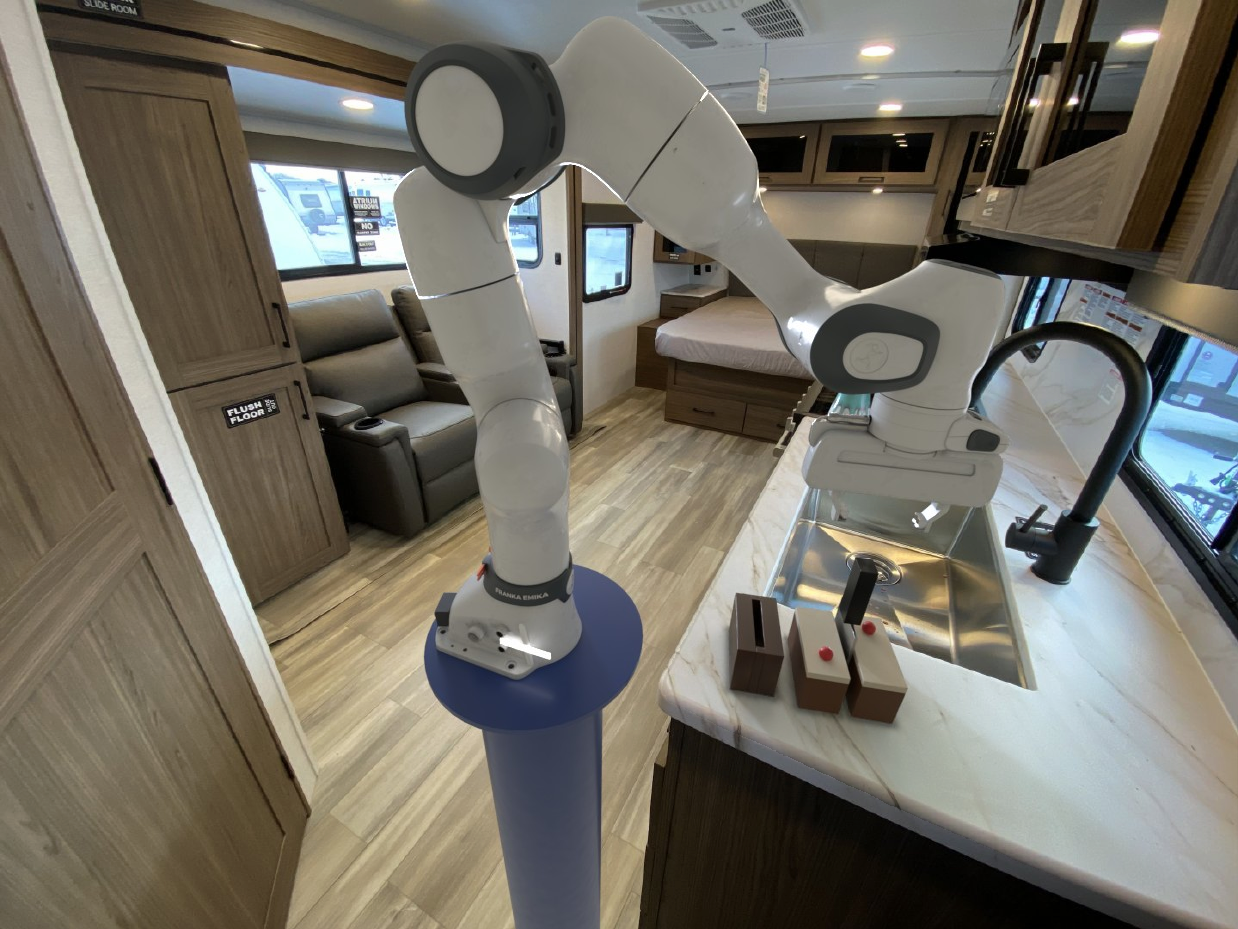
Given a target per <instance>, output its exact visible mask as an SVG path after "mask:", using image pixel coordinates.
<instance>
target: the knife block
mask: <svg viewBox="0 0 1238 929" xmlns="http://www.w3.org/2000/svg"><path fill="white" fill-rule="evenodd" d="M778 608H779V607H778V602H777V597H770V596H765V595H764V596H763V595H755V594H748V593H742V592H735V595H734V598H733V604H732V611H731V617H730V622H729V626H728V658H729V660H728V661H729V662H728V663H729V664H728V665H729V667H728V668H729V669H728V670H729V690H731V691H735V692H736V691H737V692H743V693H748V694H753V695H759V696H766V697H772V698H775V694H776V690H777V686H778V683H779V679H780V675H781V671H782V668H783V663H784V660H785V651H784V644H783V637H782V629H781V623H780V616H779V609H778Z"/></svg>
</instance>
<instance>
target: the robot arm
mask: <svg viewBox="0 0 1238 929" xmlns="http://www.w3.org/2000/svg"><path fill="white" fill-rule="evenodd" d="M403 105H404V106H403V108H404V109H403V112H404V121H405V126H406V130H407V134H408V137H409V140H410V142H411V145H412V147H413V149H414V152H415V153H416V155H417V158H418V159H419V161H420V162H421V164H422V165H421V166H419V167H416V168H414V169H413V170H412V171H409V172H408V173H407V174H406V175H405V176H403V177H402V178H401V180H400V181H399V182H398V183H397V185H396V187H395V190H394V192H393V197H392V206H393V214H394V216H395V217H394V218H395V223H396V228H397V232H398V237H399V241H400V245H401V250H402V253H403V256H404V260H405V263H406V267H407V269H408V270H407V271H408V273H409V276H410V279H411V282H412V284H413V287H414V289H415V293H416V295H417V298H418V300H419V303H420V305H421V308H422V310H423V312H424V315H425V318H426V320H427V323H428V326H429V328H430V331H431V333H432V336H433V338H434V341H435V343H436V345H437V349H438V350H439V353H440V355H441V358H442V361H443V363H444V366H445V367H446V369H447V371H448V372H449V373H450V374H451V375H452V376H453V378H454V379H455V381H456V382H457V384H458V387H459V388H460V390H461V391H462V392H463V395H464V397H465V398H466V400H467V402H468V404H469V407H470V409H471V410H472V413H473V417H474V419H475V420H474V421H475V423H476V433H477V435H476V443H475V452H474V458H473V459H474V469H475V475H476V479H477V485H478V490H479V495H480V499H481V504H482V507H483V511H484V515H485V518H486V523H487V530H488V538H489V547H488V552H489V553H488V554H486V555H485V556H484V557H483V559H482V561H481V566H480V567H479V569H478V570H477V572H475V573H473V574H472V575H470V577H469V578H468V579H467V580H466V581H465V582H464V583H463V585H462V586H461V587H460V588H459V589H458V591H457V592H449V591H446V592H445V591H443V593H442V595H441V597H440V599H439V601H438V604H437V605H436V607H435V609H434V614H433V615H434V617H435V618H436V622H437V626H438V629H437V632H436V648H437V650H439V651H441V652H444V653H446V654H449V655H451V656H454V657H457V658H459V659H462V660H464V661H467V662H470V663H472V664H475V665H477V666H480V667H483V668H485V669H488V670H491V671H493V672H496V673H498V674H501V675H504V676H506V677H509V678H512V679H515V680H519V679H522V678H524V677H526V676H527V675H529V674H530V673H531V672H533V671H534V670H535V669H537V668H539V667H542V666H545V665H548V664H551V663H554V662H556V661H558V660H560V659H561V658H563V657H564V656H566V655H567V654H568V653H570V652H571V651H572V650H573V648H574V647H575V646H576V644H577V643H578V641H579V639H580V636H581V632H582V623H581V619H580V617H579V615H578V612H577V610H576V607H575V603H574V598H573V593H572V591H573V586H574V569H573V564H574V563H573V555H572V552H571V551H570V533H569V532H570V531H569V507H570V498H571V497H570V495H571V450H570V446H569V442H568V438H567V434H566V430H565V426H564V425H565V424H564V420H563V417H562V413H561V409H560V406H559V402H558V399H557V395H556V392H555V389H554V385H553V382H552V379H551V375H550V372H549V368H548V365H547V362H546V358H545V355H544V352H543V349H542V348H543V347H542V346H541V342H540V339H539V336H538V332H537V328H536V324H535V321H534V318H533V315H532V311H531V307H530V304H529V300H528V297H527V293H526V289H525V286H524V283H523V280H522V275H521V273H520V269H519V266H518V263H517V258H516V256H515V253H514V249H513V246H512V242H511V237H510V230H509V217H510V213H511V210H512V207H513V206H514V207H516V206H517V207H518V206H520V205H522V204H524V203H525V202H527V201H528V200H529V199H531V198H533V197H534V196H535V195H537V194H538V193H540V192H541V191H544V190H545V189H547V188H548V187H550V186H551V185H553V183H555V182H556V181H558V179H559V178H561V176H562V174H564V172H565V171H566V169H567V168H568V166H569V165H576V166H579V167H581V168H583V169H586V170H587V171H588V172H590V173H592V174H593V175H594V176H595V177H597V178H598V179H599V180H600V181H601V182H602V183H603V184H605V185H606V187H607V188H609V189H610V190H611V192H613V193H614V194H615V195H616V197H618V198H619V199H620V200H621V201H622V202H623V203H624V204H625V205H626V206H627V207H628V208H629V209H630V210H631V211H632V212H633V213H634V214H636V216H637V217H638V218H640V219H641V220H642V221H644V222H645V223H646V224H647V225H648V226H650V227H651V228H652V229H654V230H655V231H656V232H658V233H659V234H660V235H662V236H664V237H665V238H666V239H668V240H670V241H671V242H673V243H674V244H676V245H678V246H680V247H681V248H683V249H686V250H688V251H691V252H695V253H698V254H701V255H705V256H707V257H709V258H710V259H713V260H714V261H717V262H718V263H719V264H721V265H723V266H724V267H726V268H727V269H728V271H730V272H731V273H732V274H733V275H734V276H736V278H737V279H738V280H739V281H740V282H741V283H742V284H743V285H744V286H745V287H746V288H747V289H748V290H749V291H750V292H751V293H752V294H753V295H754V296H755V297H756V298H757V299H758V300H759V301H760V302H761V303H762V304H763V305H764V306H765V307H766V309H767V310H768V311H769V312H770V313H771V315H772V317H773V319H774V322H775V325H776V329H777V332H778V336H779V338H780V341H781V343H782V345H783V346H784V348H785V350H786V351H787V352H788V353H789V355H791V356H792V357H793V358H794V359H795V360H797V361H798V362H800V363H801V365H802V366H803V367H804V368H805V370H806V371H808V373H810V375H812V377H813V378H814V379H815V380H816V381H817V382H818V383H819V384H820V385H822V386H824V388H826V389H828V390H830V391H832V392H835V393H836V394H838V393H841V394H849V395H855V394H870V395H872V394H874V395H873V398H872V401H871V404H870V407H871V408H870V412H869V415H857V414H850V415H849V414H841V413H836V412H831V413H828V412H827V414H825V415H821V416H819V417H817V418H815V419H814V420H813V422H812V423H811V425H810V429H809V433H808V436H807V437H808V443H809V445H808V447H807V450H806V453H805V455H804V457H803V461H802V464H801V469H800V470H801V474H802V475H801V476H802V478H803V482H805V484H806V485H807V486H808V488H810V489H815V490H823V491H824V490H825V491H827V492H828V494H829V497H830V499H831V502H832V507H831V511H830V518H831V520H832V521H833V522H842V523H846V522H847V517H848V516H849V512H850V511H849V508H848V505H847V503H841V502H840V501H839V499H840V500H841V499H843V498H844V495H845V493H848V494H857V495H865V496H872V497H873V496H874V497H882V498H892V499H899V500H908V501H909V500H910V501H916V502H924V503H925V502H927V503H930V505H928V507H926V508H925V509H924V510H922V512H917V511H915V512H914V513H913V515H912V519H911V520H910V526H911V528H912V530H913V531H914V532H921V533H929V532H930V529H931V527H932V525H933V522H934V523H935V522H936V521H937V520H939V519H940V518H942V516H944V515H946V514H947V513H949V511H950V508H951V506H959V507H960V506H961V507H968V508H976V509H978V508H982V507H983V506H986V505H987V504H989V503H990V502H992V500H993V499H994V496H995V494H996V491H997V490H998V487H999V484H1000V481H1001V478H1002V475H1003V471H1004V468H1005V462H1004V458H1003V457H1002V455H1001V454H1003V453H1005V452H1006V451H1007V450H1008V448H1009V447H1010V445H1011V437H1010V435H1008V434H1007V433H1006V432H1005V431H1004V430H1003V429H1002V428H1001V427H1000V426H999V425H997V424H996V423H994V422H993V421H992V420H990V419H988V418H987V417H986V416H984V415H982V414H981V413H978V412H976V411H973V410H971V409H969V406H970V404H971V402H972V401H971V400H972V388H973V383H974V381H975V379H976V377H977V376H978V374H979V373H980V371H981V370H982V369H983V367H984V366H985V364H986V363H987V360H988V358H989V355H990V352H991V350H992V347H993V344H994V343H995V342H994V341H995V338H996V336H997V333H998V329H999V327H1000V322H1001V320H1002V315H1003V311H1004V307H1005V302H1006V301H1005V300H1006V285H1005V281H1004V280H1003V279H1002V278H1001V276H1000V275H999V274H998V273H996V272H994V271H992V270H990V269H987V268H982V267H978V266H974V265H970V264H967V263H961V262H956V261H952V260H948V259H941V258H931V259H926V260H923V261H922V262H921V263H919V264H918V265H917V266H916V267H915V268H914V269H912V270H910V271H907V272H905V273H904V274H902V275H900V276H898V277H895V278H894V279H892V280H889V281H887V282H885V283H882V284H879V285H876V286H873V287H870V288H865V289H858V288H856V287H854V286H853V285H851V284H849V283H848V282H845V281H843V280H840V279H837V278H835V277H832V276H828V275H825V274H822V273H821V272H819V271H817V270H816V269H814V268H813V267H812V266H811V265H810V264H809V263H808V262H807V260H806V259H805V258H804V257H803V255H801V253H799V251H798V250H797V249H796V248H795V247H794V246H793V245H792V244H791V243H790V241H789V240H788V239H787V238H786V237H785V236H784V235H783V234H782V232H780V230H779V229H778V228H777V227H776V226H775V225H774V223H773V222H772V220H771V218H770V217H769V216H768V214H767V211H766V210H765V207H764V204H763V202H762V198H761V191H760V184H759V167H758V161H757V158H756V156H755V154H754V152H753V150H752V149H751V146H750V145H749V143H748V142H747V140H746V138H745V137H744V135H743V134H742V132H741V130H740V129H739V127H738V125H737V124H736V122H735V121H734V119H733V118H732V117H731V115H730V114H729V113H728V112H727V110H726V109H725V108H724V106H722V104H721V103H720V102H719V101H718V99H716V97H715V96H714V95H713V94H712V93H711V92H709V89H707V87H706V86H705V85H704V84H703V83H702V82H701V81H700V80H699V79H698V78H697V77H696V76H695V75H694V74H693V73H692V72H691V71H690V70H689V69H688V68H687V67H686V66H685V65H684V64H683V63H682V62H680V61H679V59H677V58H676V57H675V56H674V55H673V54H672V53H670V52H669V51H668V50H667V49H666V48H664V47H663V46H662V45H661V44H660V43H658V42H657V41H656V40H654V39H653V38H652V37H651V36H649V35H648V34H647V33H645V32H644V31H642V30H641V29H640V28H638V27H637V26H636V25H634V24H633V23H631V22H630V21H628V20H627V19H624V18H623V17H619V16H615V15H606V16H601V17H599V18H596V19H594V20H592V21H590V22H589V23H588V24H586V25H584V27H583V28H581V29H580V30H579V31H578V32H577V33H576V34H574V36H573V38H572V39H571V40H570V41H569V43H568V44H567V45H566V48H565V49H564V50H563V52H562V54H561V55H560V57H559V58H558V59H557V60H555V62H553V63H552V64H549V65H548V63H547V62H546V60H545V59H544V58H543V56H541V55H540V54H539V53H537V52H535V51H530V50H525V49H520V48H515V47H510V46H505V45H502V44H498V43H494V42H490V41H486V40H485V41H484V40H477V39H464V40H463V39H461V40H459V39H458V40H453V41H448V42H445V43H443V44H440V45H437V46H435V47H434V48H432V49H431V50H429V51H428V52H427V53H425V54H424V55H423V56H422V57H421V58H419V60H418V61H417V62H416V64H415V65H414V67H413V69H412V70H411V72H410V74H409V77H408V80H407V84H406V87H405V92H404V102H403ZM826 420H827V421H826ZM442 633H444V634H442ZM511 667H513V668H512V669H509V668H511Z"/></svg>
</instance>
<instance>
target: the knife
mask: <svg viewBox="0 0 1238 929" xmlns="http://www.w3.org/2000/svg"><path fill="white" fill-rule="evenodd" d="M879 573H880V572H879V571H878V567H877V566H876V564H875V562H874V559H873V558H866V557H859V556H855V557H854V560H853V563H852V566H851V569H850V572H849V575H848V578H847V582H846V585H845V587H844V590H843V593H842V596H841V598H840V601H839V604H838V607H837V610H836V614H835V617H834V620H835V623H836V627H837V631H838V634H839V638H840V642H841V645H842V649H843V653H844V656H845V660H846V664H847V667H848V665H849V662H850V660H851V657H852V654H853V651H854V649H855V646H856V643H857V640H858V638H857V635H856V631H855V628H854V625H859V626H861V623H862V620H863V617H864V616H866V615H865V614H866V611H867V609H868V606H869V604H870V601H871V597H872V594H873V592H874V589H875V586H876V583H877V581H878V578H879V575H880V574H879Z"/></svg>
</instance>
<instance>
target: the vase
mask: <svg viewBox="0 0 1238 929" xmlns="http://www.w3.org/2000/svg"><path fill="white" fill-rule="evenodd" d="M870 408H871V394H855V395H849V394H841V393H837V395H836V397H835V398H834V400H833V402H832V404H831V406H830V408H829V410H828V412H827V414H828V413H831V412H836V413H841V414H849V415H850V414H857V415H869V412H870ZM825 420H826V419H825ZM826 421H827V420H826Z"/></svg>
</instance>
